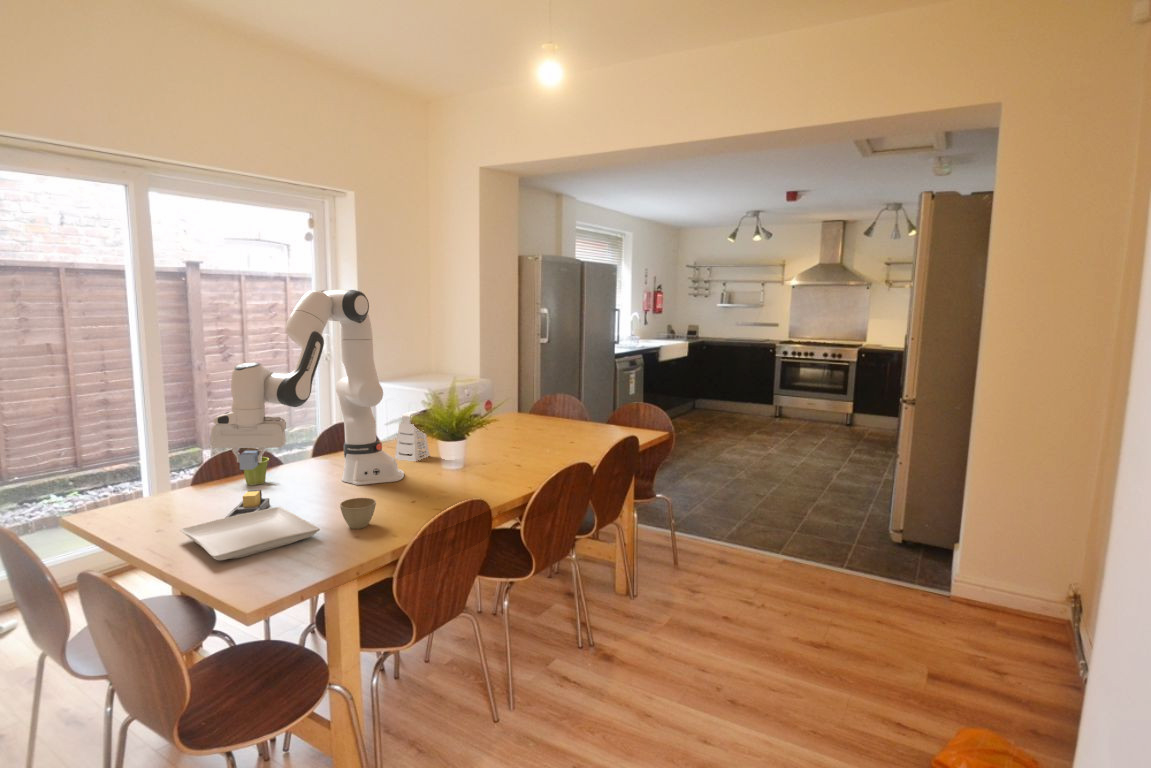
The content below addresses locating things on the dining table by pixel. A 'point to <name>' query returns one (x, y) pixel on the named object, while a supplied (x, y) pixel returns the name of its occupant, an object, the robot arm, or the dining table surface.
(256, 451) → the plug slate
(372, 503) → the flower pot
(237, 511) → the grey flat frame
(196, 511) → the dining table surface
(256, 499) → the yellow block
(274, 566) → the dining table surface
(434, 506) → the dining table surface
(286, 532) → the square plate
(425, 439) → the grater
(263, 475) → the plant pot
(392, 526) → the dining table surface
